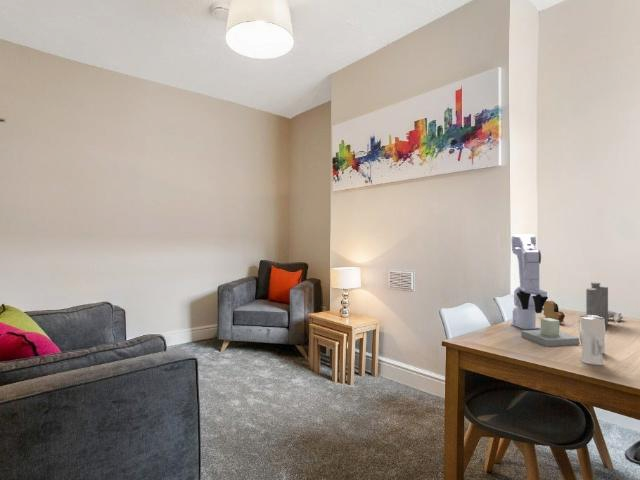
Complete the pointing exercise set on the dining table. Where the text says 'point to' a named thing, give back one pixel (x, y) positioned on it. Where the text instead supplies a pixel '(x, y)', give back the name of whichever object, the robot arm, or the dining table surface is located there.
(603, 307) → the hip flask
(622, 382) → the dining table surface
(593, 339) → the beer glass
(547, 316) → the wooden carving
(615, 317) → the seahorse
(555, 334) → the sage block
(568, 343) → the slate block
